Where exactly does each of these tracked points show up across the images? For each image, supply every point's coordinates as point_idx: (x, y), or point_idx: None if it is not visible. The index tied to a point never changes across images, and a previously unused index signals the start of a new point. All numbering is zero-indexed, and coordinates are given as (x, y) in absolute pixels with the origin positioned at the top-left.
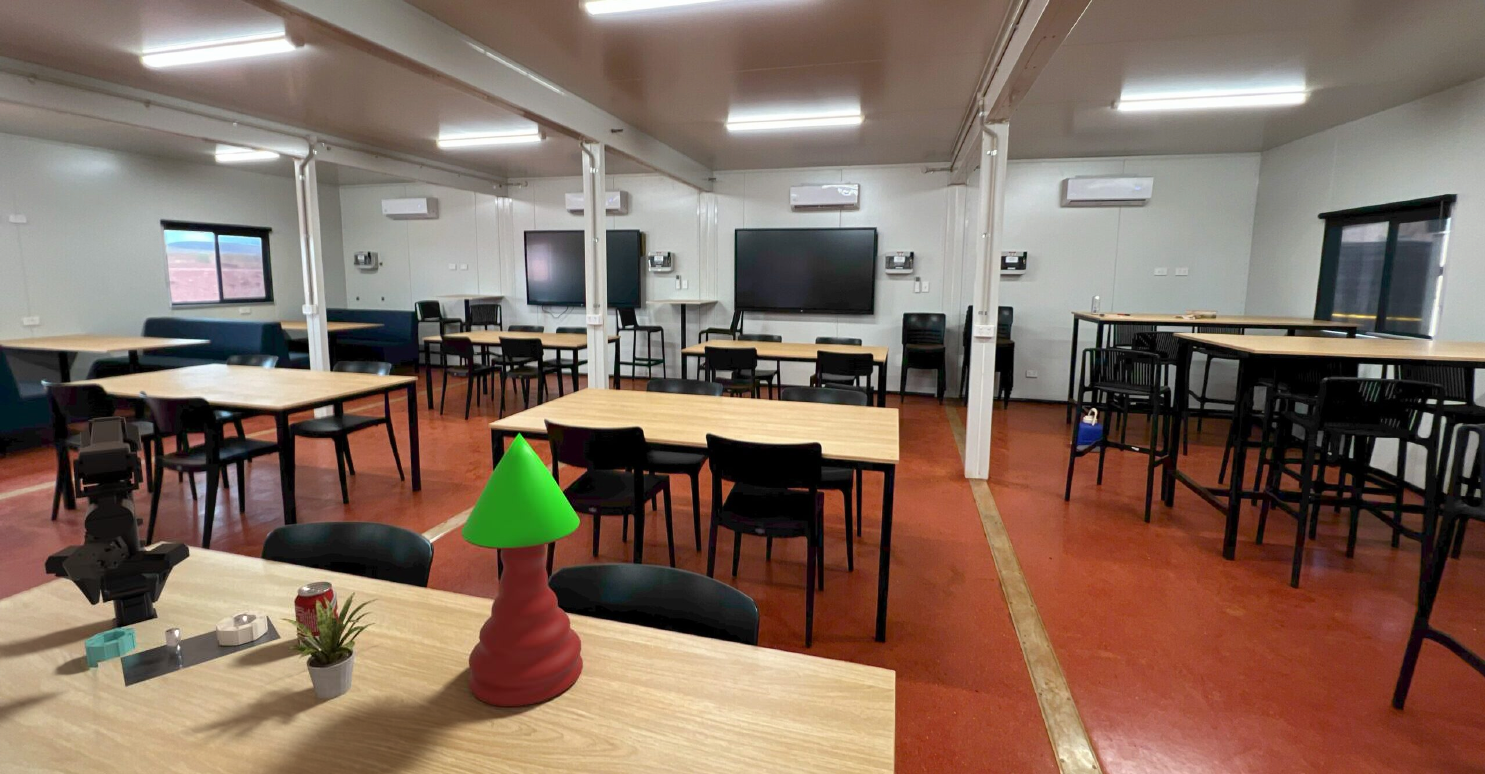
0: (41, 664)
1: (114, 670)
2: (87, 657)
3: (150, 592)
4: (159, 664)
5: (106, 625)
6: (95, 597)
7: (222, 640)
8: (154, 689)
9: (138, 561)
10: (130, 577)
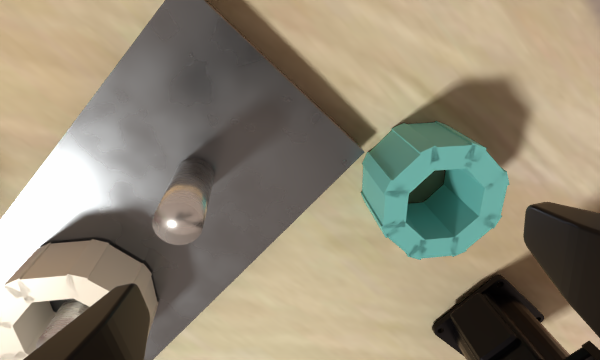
0: (582, 123)
1: (349, 109)
2: (458, 132)
3: (59, 352)
4: (197, 123)
5: (542, 295)
6: (564, 248)
7: (84, 250)
8: (105, 7)
9: None
10: None
